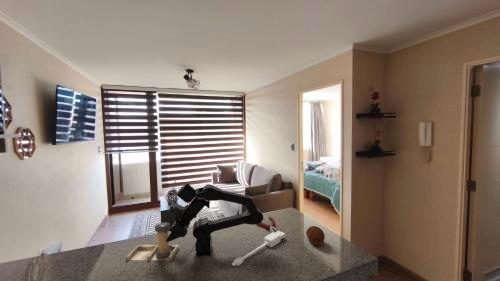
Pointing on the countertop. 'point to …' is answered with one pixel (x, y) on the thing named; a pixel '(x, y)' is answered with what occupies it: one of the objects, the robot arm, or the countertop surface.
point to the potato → (315, 235)
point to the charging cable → (268, 240)
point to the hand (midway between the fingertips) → (168, 236)
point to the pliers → (268, 227)
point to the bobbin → (162, 240)
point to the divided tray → (149, 252)
